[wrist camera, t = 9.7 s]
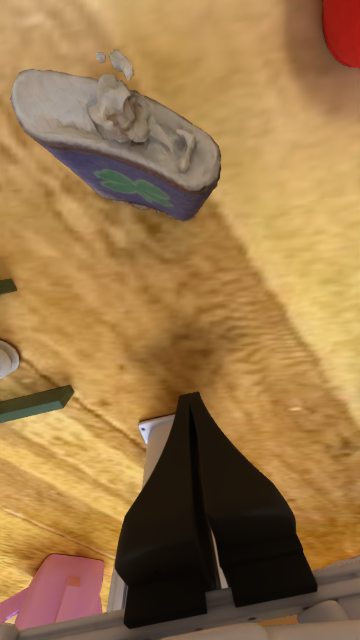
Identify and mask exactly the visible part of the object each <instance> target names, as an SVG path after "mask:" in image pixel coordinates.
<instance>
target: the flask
mask: <svg viewBox="0 0 360 640" xmlns="http://www.w3.org/2000/svg"><path fill="white" fill-rule="evenodd" d="M96 58H97V60H98V61H99V63H102V62H105V53H104V52H97V54H96ZM109 58H110V60H111V63H112V65H113V68H114V69H117V70H119V71H121V72H123V73H124V75H125V77H126V79H127V80H128V81H129V79H130V78H131V77H132V76H133V75H134V70H133V67H132V65H131V63H130V61H129V60H128V59H127V57H126V56H124V55H123V54H122V53H121V52H120V51H119V50H113V51H112V52H111V53H110V54H109ZM10 99H11V103H12V107H13V109H14V112H15V114H16V117H17V119H18V121H19V124H20V125H21V127H22V128H23V130H24V131H25V132H26V133H27V134H28V135H29V136H30V137H31V138H33V139H34V140H35V141H37V142H38V143H39V144H40V145H42V146H43V147H44V148H46V149H47V150H48V151H49V152H51V153H52V154H53V155H54V156H55V157H56V158H57V159H58V160H60V161H61V162H62V163H63V164H65V165H66V166H67V167H69V168H70V169H71V170H72V171H73V172H74V173H75V174H77V175H78V176H79V177H80V178H81V179H82V180H84V181H85V182H86V183H87V184H88V185H89V186H90V187H91V188H92V189H93V190H95V192H96V193H97V194H99V195H100V196H102V197H105V198H107V199H110V200H112V201H113V202H114V201H115V202H117V201H123V202H125V203H128V204H131V205H132V206H134V207H137V208H138V209H143V210H145V209H146V210H147V209H151V208H152V209H154V210H156V212H157V213H166V214H167V215H169V216H170V217H173V218H175V219H177V220H181V221H187V220H189V219H191V218H194V217H195V216H194V215H195V214H196V213H197V212H198V210H199V209H200V207H202V205H203V203H204V201H205V200H206V199H207V198H208V197H209V195H210V194H211V192H212V191H213V190H214V189H215V188H216V187H217V183H218V181H219V179H220V171H221V164H220V161H221V154H220V150H219V146H218V145H217V144H216V142H215V141H214V140H213V138H212V137H211V136H210V135H209V134H207V133H206V132H204V131H203V130H201V129H200V128H198V127H196V126H195V125H193V124H192V123H191V122H189V121H188V120H187V119H185V118H184V117H182V116H181V115H179V114H177V113H176V112H174V111H172V110H171V109H169V108H167V107H166V106H164V105H162V104H160V103H159V102H157V101H155V100H153V99H151V98H149V97H146V96H143V95H141V94H140V93H138V92H137V91H135V90H129V88H128V86H127V84H126V83H124V82H123V81H122V80H121V81H118V80H117V78H116V76H115V74H106V75H100V77H99V80H96V79H94V78H91V77H82V76H75V75H70V74H67V73H62V72H57V71H52V70H46V71H41V70H35V69H29V70H24V71H22V72H19V74H18V76H17V78H16V80H15V82H14V85H13V89H12V93H11V98H10Z"/></svg>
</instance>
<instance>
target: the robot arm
mask: <svg viewBox="0 0 360 640" xmlns="http://www.w3.org/2000/svg"><path fill="white" fill-rule="evenodd" d="M138 427H139V429H140V432H141V434H142V436H143V439H144V441H145V443H146V445H147V450H146V459H145V467H144V476H143V485H142V491H141V492H140V494H139V496H138V497H137V499H136V500H135V502H134V503H133V505H132V506H131V508H130V509H129V511H128V512H127V514H126V515H125V518H124V521H123V525H122V529H121V533H120V537H119V541H118V547H117V552H116V557H115V562H114V568H113V573H112V579H111V585H110V591H109V598H108V605H107V612H105V613H100V614H96V615H91V616H86V617H81V618H76V619H71V620H66V621H61V622H56V623H51V624H46V625H42V626H37V627H32V628H27V629H22V630H19V628H18V627H17V626H15V625H14V624H11V623H0V640H360V561H356V562H351V563H346V564H341V565H336V566H331V567H326V568H321V569H316V570H311V569H310V566H309V564H308V562H307V560H306V557H305V555H304V553H303V548H302V545H301V543H300V541H299V539H298V536H297V534H296V520H295V517H294V514H293V512H292V511H291V509H290V507H289V505H288V504H287V502H286V501H285V499H284V498H283V496H282V495H281V493H280V492H279V491H278V489H277V488H276V487H275V485H274V484H273V483H272V482H271V481H270V480H269V479H268V478H267V477H266V476H264V475H263V474H262V473H261V472H260V471H259V470H258V469H257V468H256V467H254V466H253V465H252V464H251V463H250V462H249V461H248V460H247V459H246V458H245V457H244V456H243V455H242V454H241V453H240V452H239V451H238V449H237V448H236V447H235V446H234V445H233V444H232V443H231V442H230V441H229V439H228V438H227V437H226V436H225V435H224V433H223V432H222V431H221V429H220V428H219V427H218V425H217V424H216V423H215V421H214V420H213V418H212V417H211V415H210V413H209V412H208V410H207V409H206V407H205V405H204V403H203V401H202V399H201V396H200V393H199V392H198V391H197V392H193V393H189V394H185V395H180V396H179V400H178V405H177V410H176V414H173V415H169V416H165V417H160V418H156V419H151V420H147V421H143V422H140V423H139V425H138ZM297 614H298V616H297V620H298V623H299V624H287V625H273V626H260V625H259V624H254V623H256V622H261V621H266V620H272V619H276V618H282V617H287V616H292V615H297Z"/></svg>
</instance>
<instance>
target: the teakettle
mask: <svg viewBox="0 0 360 640" xmlns="http://www.w3.org/2000/svg"><path fill="white" fill-rule="evenodd" d="M103 572H104V563H103V561H100V560H96V559H89V558H83V557H76V556H68V555H60V554H51V555H49V556H48V557H47V558H46V559H45V561H44V562H43V564H42V565H41V566H40V568H39V570H38V571H37V573H36V574H35V576H34V578H33V579H32V581H31V583H30V585H29V587H28V588H26V589H24V590H22V591H21V592H19V593H17V594H16V595H14V596H12V597H11V598H9V599H7V600H5V601H4V602H2V603H0V623H5V621H6V620H7V619H9V618H11V617H12V616H14V615H16V614H18V615H17V618H16V621H15V624H14V625H15V626H17V627H18V628H19V630H22V629H27V628H32V627H37V626H42V625H46V624H51V623H56V622H61V621H66V620H71V619H76V618H81V617H86V616H91V615H96V614H100V613H103V612H102V605H101V599H100V591H101V586H102V581H103Z"/></svg>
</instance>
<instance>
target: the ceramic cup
mask: <svg viewBox="0 0 360 640" xmlns="http://www.w3.org/2000/svg"><path fill="white" fill-rule="evenodd" d="M322 20H323V31H324V35H325V39H326V43H327V45H328V48H329V50H330V52H331V53H332V55H333V56H334V57H335V59H336V60H338V61H339V62H340V63H341V64H343V65H345V66H348V67H355V68H360V0H323V17H322Z"/></svg>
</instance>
